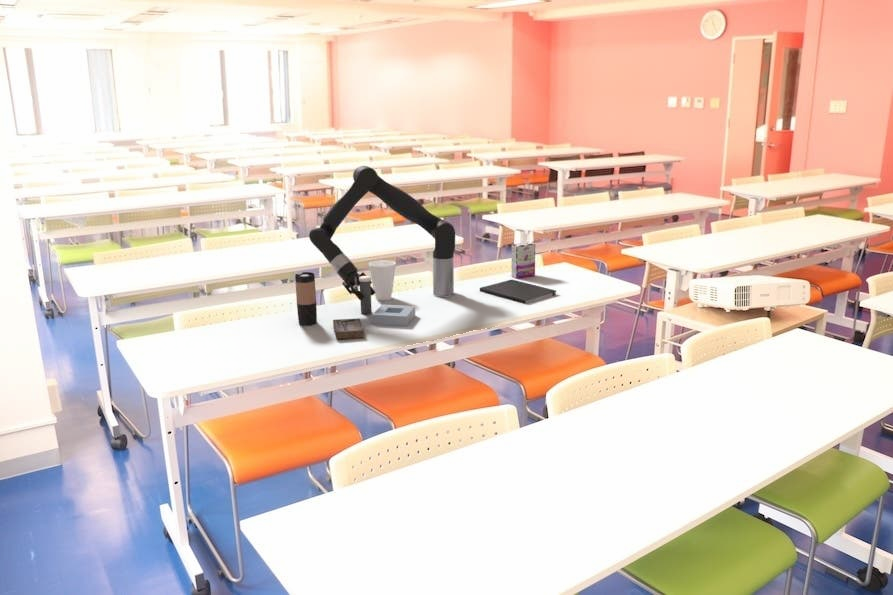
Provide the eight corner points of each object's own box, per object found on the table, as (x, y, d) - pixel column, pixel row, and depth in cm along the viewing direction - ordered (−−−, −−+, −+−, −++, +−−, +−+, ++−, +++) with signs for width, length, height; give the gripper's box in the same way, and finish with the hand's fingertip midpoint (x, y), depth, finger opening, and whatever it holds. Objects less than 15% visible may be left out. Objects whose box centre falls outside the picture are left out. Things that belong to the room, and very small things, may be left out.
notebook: (479, 292, 336) (525, 305, 316) (479, 287, 336) (525, 300, 316) (511, 283, 350) (557, 295, 330) (511, 279, 350) (557, 290, 330)
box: (335, 340, 273) (335, 331, 272) (332, 326, 290) (332, 319, 289) (364, 338, 276) (364, 330, 275) (360, 325, 292) (359, 317, 291)
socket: (382, 313, 305) (382, 304, 304) (415, 315, 302) (415, 306, 301) (372, 324, 292) (372, 314, 290) (406, 326, 289) (406, 316, 288)
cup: (368, 302, 321) (367, 266, 316) (371, 294, 332) (369, 260, 328) (396, 301, 321) (395, 266, 316) (397, 294, 332) (396, 260, 328)
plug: (362, 310, 309) (360, 275, 305) (373, 311, 308) (372, 276, 304) (358, 314, 304) (357, 278, 300) (370, 314, 303) (368, 279, 299)
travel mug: (315, 325, 290) (312, 276, 284) (296, 325, 290) (292, 276, 285) (319, 319, 297) (316, 271, 292) (300, 319, 298) (297, 272, 292)
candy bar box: (529, 273, 366) (530, 241, 362) (535, 276, 362) (536, 243, 358) (510, 276, 361) (511, 243, 357) (516, 278, 357) (517, 245, 352)
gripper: (339, 264, 297) (364, 295, 296) (358, 257, 309) (382, 287, 308) (328, 276, 301) (353, 306, 299) (348, 268, 313) (372, 297, 312)
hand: (368, 296), depth 304 cm, fingers open, 8 cm apart
